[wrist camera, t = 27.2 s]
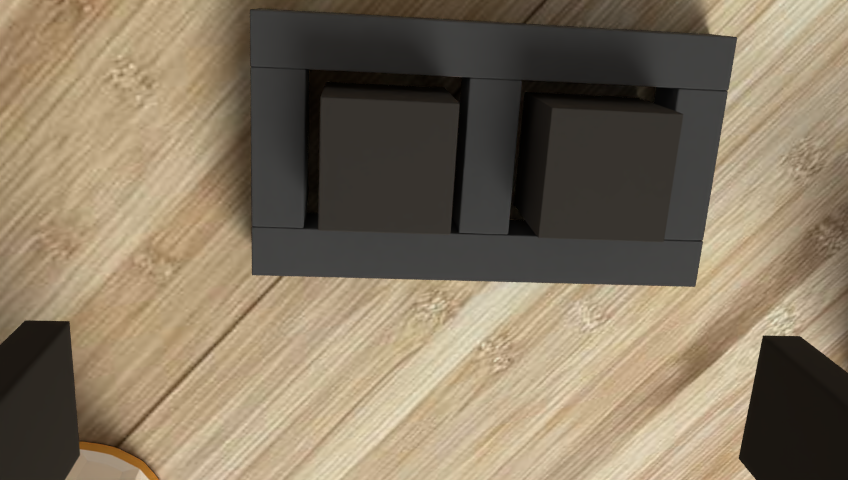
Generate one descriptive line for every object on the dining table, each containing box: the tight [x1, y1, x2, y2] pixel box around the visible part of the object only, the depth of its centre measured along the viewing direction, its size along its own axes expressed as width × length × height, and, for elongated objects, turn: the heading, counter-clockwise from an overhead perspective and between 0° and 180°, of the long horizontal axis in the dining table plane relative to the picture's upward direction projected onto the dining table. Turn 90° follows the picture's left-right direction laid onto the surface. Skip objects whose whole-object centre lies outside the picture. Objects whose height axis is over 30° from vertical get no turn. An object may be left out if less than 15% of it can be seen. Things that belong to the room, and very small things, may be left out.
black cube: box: [318, 82, 460, 235], centre depth 38 cm, size 6×6×6 cm
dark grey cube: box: [514, 92, 683, 242], centre depth 39 cm, size 6×6×6 cm
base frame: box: [250, 8, 737, 287], centre depth 39 cm, size 13×23×3 cm, turn 87°
